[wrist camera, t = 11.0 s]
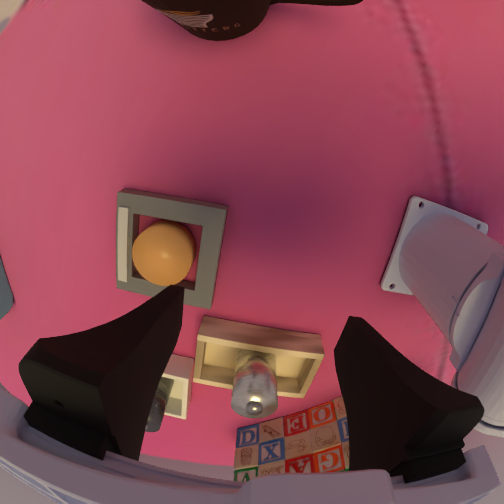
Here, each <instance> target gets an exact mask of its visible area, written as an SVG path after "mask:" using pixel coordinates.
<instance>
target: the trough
mask: <svg viewBox="0 0 504 504" xmlns="http://www.w3.org/2000/svg"><path fill="white" fill-rule="evenodd" d="M237 348H241V349H247V350H253V351H259V352H265V353H272V354H276V374H277V396H287V397H297V398H304V396H305V394H306V392H307V390H308V388H309V386H310V384H311V382H312V380H313V378H314V376H315V374H316V372H317V370H318V368H319V366H320V364H321V361H322V359H323V357H324V355H325V353H324V349H323V345H322V341H321V337H320V335H317V334H310V333H302V332H295V331H289V330H282V329H276V328H269V327H263V326H257V325H252V324H246V323H240V322H235V321H229V320H224V319H219V318H214V317H209V316H203V319H202V322H201V326H200V329H199V332H198V338H197V347H196V357H195V367H194V377H193V382H196V383H201V384H206V385H211V386H217V387H222V388H228V389H233V382H234V373H235V363H236V354H237Z"/></svg>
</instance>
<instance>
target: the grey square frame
mask: <svg viewBox="0 0 504 504" xmlns="http://www.w3.org/2000/svg"><path fill="white" fill-rule="evenodd" d="M227 211H228V206H227V205H221V204H216V203H210V202H205V201H199V200H193V199H188V198H182V197H176V196H170V195H163V194H157V193H151V192H144V191H138V190H131V189H123V190H121V191H118V195H117V215H116V281H117V288H119V289H122V290H126V291H130V292H134V293H138V294H143V295H147V296H151V297H154V296H155V295H157V294H158V293H159V292H161V291H162V290H163V289H165V288H166V287H168V286H160V285H156V284H153V283H151V282H149V281H148V280H146V279H145V278H144V277H143V276H142V275H141V274H140V273H139V272H138V270H137V269H136V267H135V265H134V262H133V258H132V248H133V244H134V242H135V240H136V238H137V237H138V229H139V214H140V215H145V216H151V217H157V218H162V219H168V220H173V221H179V222H184V223H190V224H195V225H200V226H203V229H202V236H201V243H200V251H199V259H198V267H197V275H196V283H194V282H189V281H184V280H181V281H180V282H179V283H177V284H174V285H176V286H181V287H185V291H184V303H183V304H186V305H191V306H196V307H201V308H206V309H211V306H212V303H213V297H214V291H215V284H216V278H217V271H218V265H219V259H220V252H221V246H222V240H223V234H224V228H225V222H226V217H227Z"/></svg>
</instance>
